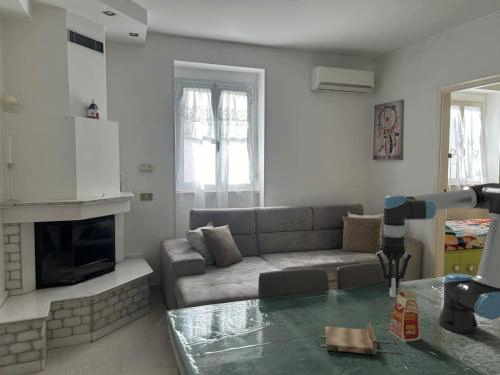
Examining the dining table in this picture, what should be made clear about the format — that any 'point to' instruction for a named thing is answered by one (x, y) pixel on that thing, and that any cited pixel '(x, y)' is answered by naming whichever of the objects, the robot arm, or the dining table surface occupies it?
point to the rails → (377, 350)
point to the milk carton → (406, 317)
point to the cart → (351, 339)
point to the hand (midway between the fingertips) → (392, 295)
